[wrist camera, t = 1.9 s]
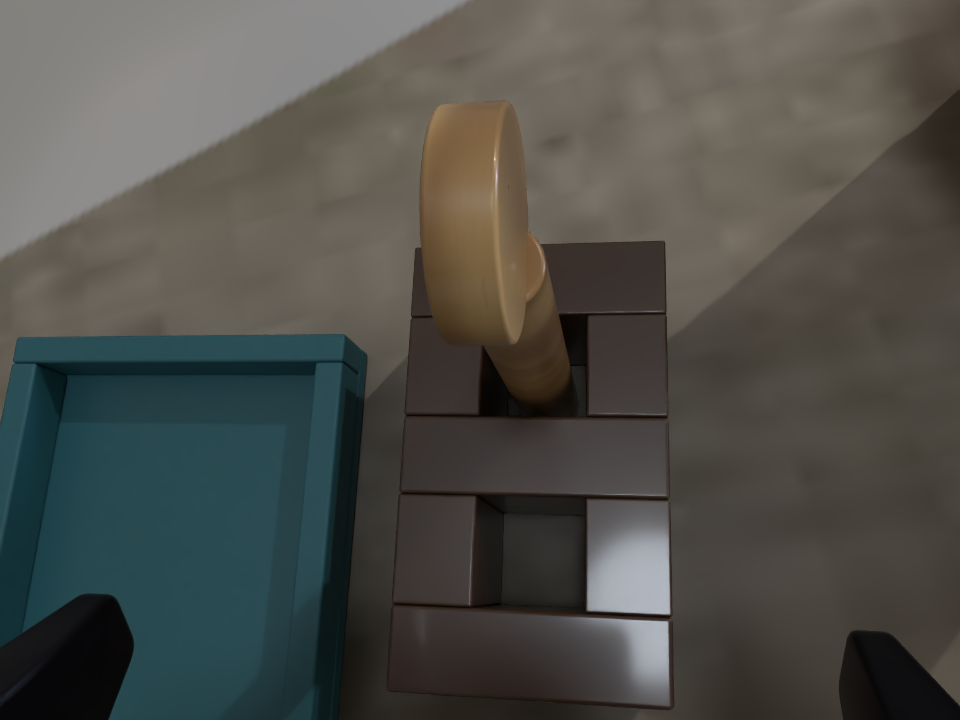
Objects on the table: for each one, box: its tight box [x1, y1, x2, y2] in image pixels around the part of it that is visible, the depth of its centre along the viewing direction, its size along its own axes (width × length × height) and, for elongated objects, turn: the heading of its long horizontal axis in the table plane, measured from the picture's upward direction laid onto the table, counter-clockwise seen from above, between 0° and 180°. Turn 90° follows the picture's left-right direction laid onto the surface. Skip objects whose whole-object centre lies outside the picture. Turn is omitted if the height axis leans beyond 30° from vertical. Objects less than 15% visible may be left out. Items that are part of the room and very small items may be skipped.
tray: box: [0, 334, 367, 720], centre depth 22 cm, size 20×10×2 cm, turn 178°
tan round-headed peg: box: [420, 100, 579, 417], centre depth 17 cm, size 3×2×14 cm, turn 178°
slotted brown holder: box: [386, 241, 674, 710], centre depth 20 cm, size 10×6×4 cm, turn 178°
